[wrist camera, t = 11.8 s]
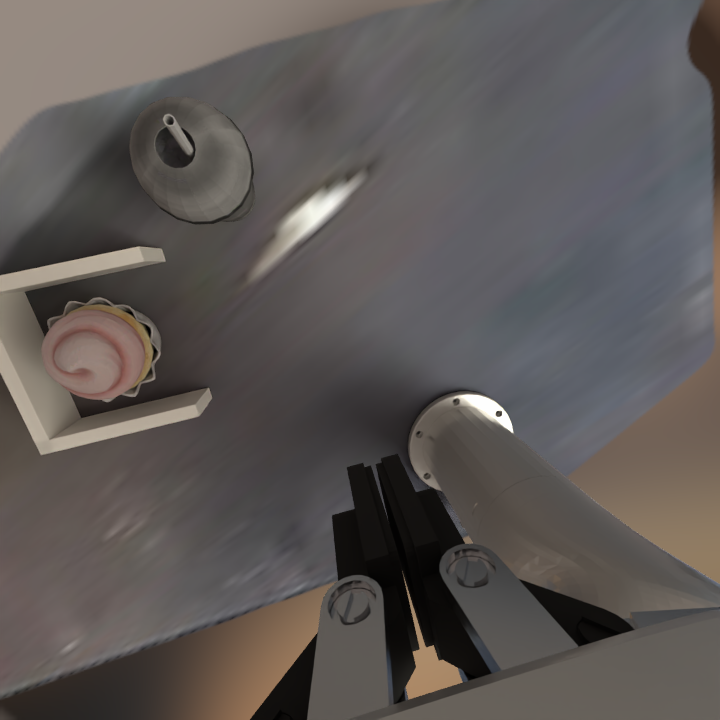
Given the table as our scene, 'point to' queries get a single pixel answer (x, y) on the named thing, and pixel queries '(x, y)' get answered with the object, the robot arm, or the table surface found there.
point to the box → (46, 396)
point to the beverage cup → (193, 161)
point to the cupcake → (101, 349)
